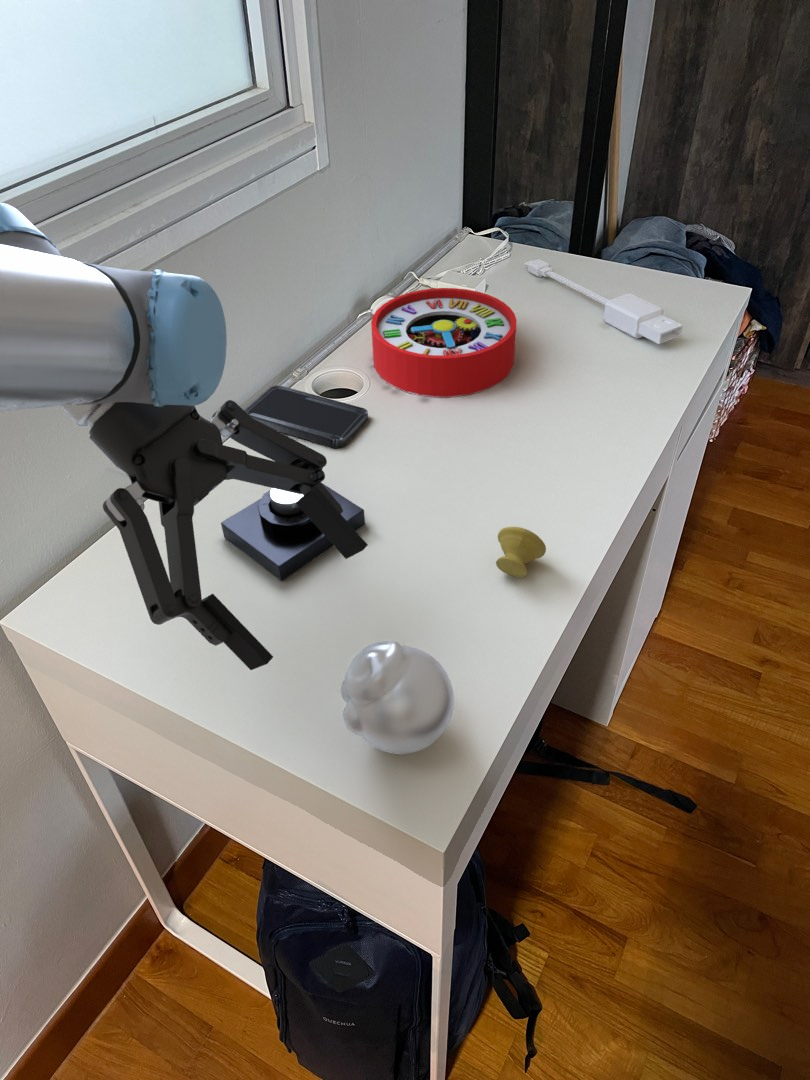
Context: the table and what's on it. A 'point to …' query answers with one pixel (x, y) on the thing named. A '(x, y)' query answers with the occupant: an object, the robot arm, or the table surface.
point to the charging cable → (622, 309)
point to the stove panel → (283, 535)
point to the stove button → (285, 503)
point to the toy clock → (443, 342)
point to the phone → (308, 416)
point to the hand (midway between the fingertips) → (312, 604)
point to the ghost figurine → (397, 697)
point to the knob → (518, 550)
